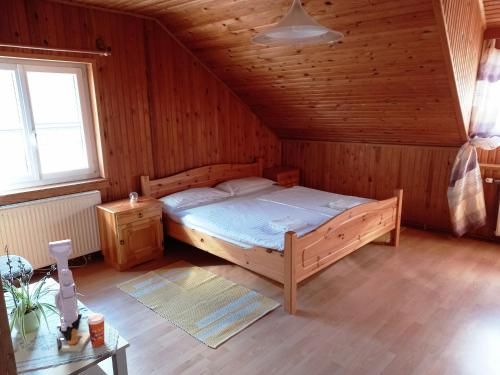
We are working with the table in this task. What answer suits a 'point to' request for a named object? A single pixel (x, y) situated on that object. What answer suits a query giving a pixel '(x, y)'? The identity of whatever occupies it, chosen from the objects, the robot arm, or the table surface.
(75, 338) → the orange rounded cylinder
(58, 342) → the hook post
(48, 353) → the table surface
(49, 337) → the table surface
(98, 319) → the paper cup
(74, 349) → the beige u-shaped block
